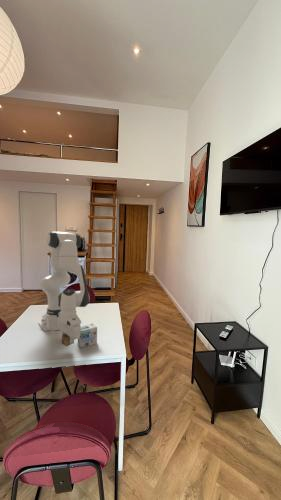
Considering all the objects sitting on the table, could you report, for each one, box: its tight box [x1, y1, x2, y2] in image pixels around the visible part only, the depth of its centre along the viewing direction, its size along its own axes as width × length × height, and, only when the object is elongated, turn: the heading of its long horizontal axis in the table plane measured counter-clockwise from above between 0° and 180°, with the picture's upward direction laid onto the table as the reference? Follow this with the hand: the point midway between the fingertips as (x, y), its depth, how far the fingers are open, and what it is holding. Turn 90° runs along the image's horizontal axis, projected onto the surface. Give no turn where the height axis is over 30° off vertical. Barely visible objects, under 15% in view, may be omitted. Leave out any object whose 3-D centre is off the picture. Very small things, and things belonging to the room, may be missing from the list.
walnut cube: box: [61, 334, 75, 347], centre depth 128 cm, size 5×5×5 cm
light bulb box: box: [77, 323, 98, 348], centre depth 138 cm, size 11×7×11 cm, turn 126°
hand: (67, 340), depth 128 cm, fingers closed on walnut cube, 5 cm apart
